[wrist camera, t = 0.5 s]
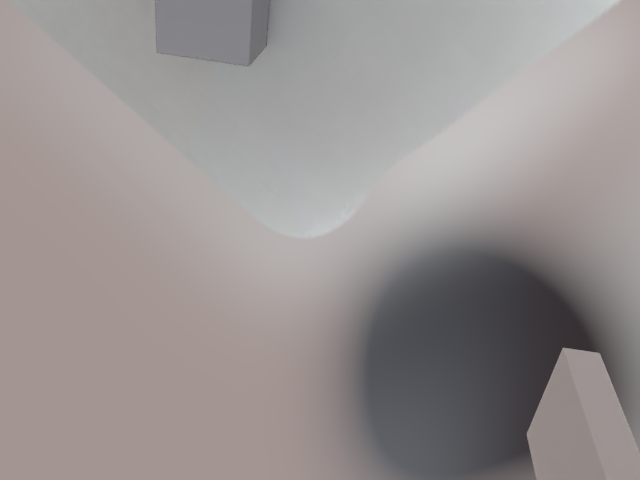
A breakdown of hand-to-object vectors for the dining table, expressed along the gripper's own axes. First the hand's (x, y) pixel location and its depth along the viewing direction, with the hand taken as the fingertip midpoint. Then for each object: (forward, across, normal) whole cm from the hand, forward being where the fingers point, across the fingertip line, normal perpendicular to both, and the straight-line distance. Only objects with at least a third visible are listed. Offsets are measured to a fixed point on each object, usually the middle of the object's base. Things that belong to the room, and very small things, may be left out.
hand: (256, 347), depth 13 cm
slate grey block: (+26, -7, +2) cm, 27 cm away
